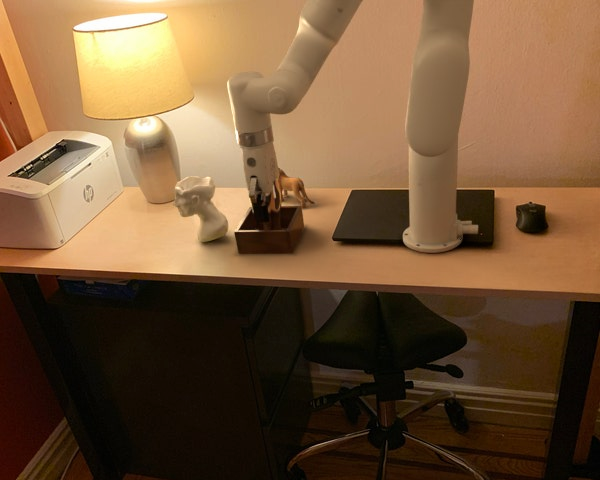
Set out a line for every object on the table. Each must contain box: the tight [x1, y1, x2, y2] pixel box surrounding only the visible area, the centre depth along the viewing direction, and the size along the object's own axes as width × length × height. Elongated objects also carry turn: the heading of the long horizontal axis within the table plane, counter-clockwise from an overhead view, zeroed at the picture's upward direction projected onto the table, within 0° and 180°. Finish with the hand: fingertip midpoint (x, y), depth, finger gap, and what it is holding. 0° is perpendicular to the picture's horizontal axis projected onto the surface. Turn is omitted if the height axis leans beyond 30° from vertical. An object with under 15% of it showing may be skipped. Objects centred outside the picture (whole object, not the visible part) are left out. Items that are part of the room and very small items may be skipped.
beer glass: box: [247, 176, 284, 230], centre depth 132 cm, size 7×7×15 cm
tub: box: [233, 205, 305, 255], centre depth 134 cm, size 13×13×6 cm
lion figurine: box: [278, 167, 316, 209], centre depth 150 cm, size 15×5×9 cm, turn 55°
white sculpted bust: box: [172, 175, 229, 243], centre depth 136 cm, size 10×11×15 cm
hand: (267, 212), depth 132 cm, fingers open, 7 cm apart
